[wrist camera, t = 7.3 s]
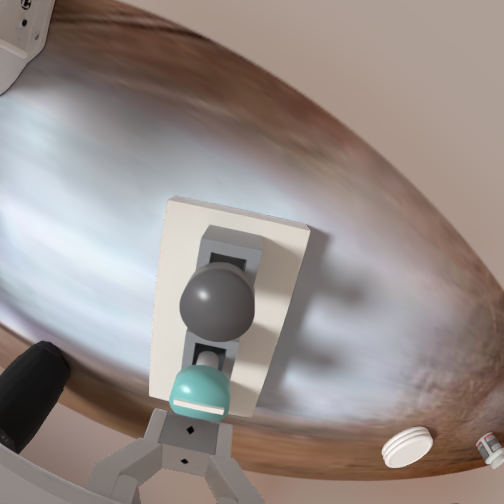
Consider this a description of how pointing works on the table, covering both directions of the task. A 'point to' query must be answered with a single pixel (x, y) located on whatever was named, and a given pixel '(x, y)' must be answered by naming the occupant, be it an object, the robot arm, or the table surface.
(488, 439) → the pill bottle
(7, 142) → the table surface
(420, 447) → the white jar lid
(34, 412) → the portable speaker
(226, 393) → the teal dial
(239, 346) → the mount panel
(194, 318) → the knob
